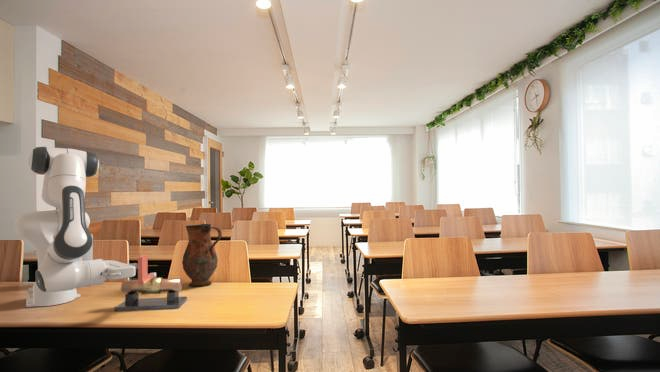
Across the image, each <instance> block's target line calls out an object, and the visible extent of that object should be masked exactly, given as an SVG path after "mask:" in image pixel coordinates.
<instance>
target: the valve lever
mask: <svg viewBox="0 0 660 372" xmlns="http://www.w3.org/2000/svg"><path fill="white" fill-rule="evenodd" d="M148 258H149V257H148V254H142V255H140V256H138V257H137V264H138V269H137V280H138V285H144V284H145V283H146V282H148V281H149V280H150V279H152V278H157V272H150V273H148V269H149V268H148V265H149V264H148Z"/></svg>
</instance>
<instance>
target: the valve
mask: <svg viewBox="0 0 660 372" xmlns="http://www.w3.org/2000/svg"><path fill="white" fill-rule="evenodd" d="M182 288H183V278H182V277H181V278H164V277H160V276H159V277H155V278H152V279H150V280H149V281H148V282H146V283H145V284H144V285H138V279H134V280H133V279H131V280H130V279H129V280H123V281H122V282H121V287H120V291H121V293H122V294H125V295H124V301H123V302H121V303H120V304H118V305H116V306H115V307H114V312H130V311H131V312H132V311H150V310H152V311H153V310H173V309H180V308H181V307H182V306H183V305H184V304H185V303H186V302H187V301H188V297H187V296H179V295H180V294H179V292H182ZM163 292H164V293H166V297H147V298H146V297H145V298H142V297H141V298H139V293H140V294H141V295H157V294H159V295H160V294H162V293H163Z"/></svg>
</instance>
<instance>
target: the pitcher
mask: <svg viewBox="0 0 660 372" xmlns="http://www.w3.org/2000/svg"><path fill="white" fill-rule="evenodd" d="M185 228H186V232H187V235H188V242H187V245H186V248H185V250H184V253H183V256H182V261H181V262H182V268H183V271H184V273H185V275H186V276H187V277H188V278H189V279H190V280H191V282H189V283H188V286H189V287H193V288H204V287H208V286H211V285H212V281H210V280H209V279H210V278H211V277H212V275H213V274H214V273H215V272H216V269H217V267H218V260H219V259H218V256H217V252H216V250H215V246H216V245H217V244H218V243H219V241H220V240H221V238H222V236H223V233H222V230H221V229H220V228H219V227H218V226H212V224H210V223H202V224H201V223H200V224H194V225H186V226H185ZM212 229H214V230H216V231H217V234H218V236H217V238H216V240H214V242H212V237H211V232H212Z"/></svg>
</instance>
